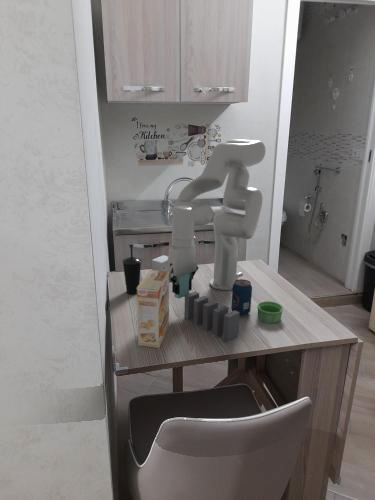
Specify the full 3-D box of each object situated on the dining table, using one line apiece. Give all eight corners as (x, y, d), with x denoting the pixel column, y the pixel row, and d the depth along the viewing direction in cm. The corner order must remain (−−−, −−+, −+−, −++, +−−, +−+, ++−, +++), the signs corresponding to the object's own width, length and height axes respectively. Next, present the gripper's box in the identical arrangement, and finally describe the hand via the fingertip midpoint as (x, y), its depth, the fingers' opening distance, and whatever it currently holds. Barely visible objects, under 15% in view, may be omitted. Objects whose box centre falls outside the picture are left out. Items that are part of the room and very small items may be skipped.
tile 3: (203, 318, 130) (204, 295, 127) (207, 321, 129) (208, 297, 126) (193, 323, 127) (193, 299, 124) (197, 325, 126) (197, 301, 123)
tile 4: (213, 324, 127) (214, 300, 124) (217, 326, 126) (218, 302, 123) (202, 328, 124) (203, 304, 121) (206, 331, 122) (207, 306, 120)
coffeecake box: (159, 348, 113) (159, 289, 106) (137, 346, 114) (135, 287, 108) (170, 324, 127) (170, 270, 120) (149, 322, 128) (148, 269, 122)
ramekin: (268, 326, 126) (269, 315, 125) (251, 315, 133) (252, 304, 132) (287, 320, 131) (288, 308, 129) (269, 309, 138) (270, 299, 136)
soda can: (227, 310, 137) (229, 280, 133) (244, 307, 139) (246, 277, 136) (236, 318, 131) (238, 287, 127) (253, 315, 133) (256, 284, 129)
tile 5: (222, 329, 124) (224, 305, 121) (227, 331, 122) (228, 307, 120) (212, 334, 121) (213, 309, 118) (216, 337, 119) (217, 311, 116)
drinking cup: (137, 297, 146) (135, 249, 140) (120, 294, 148) (117, 246, 142) (145, 289, 153) (144, 243, 147) (128, 286, 155) (127, 241, 149)
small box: (163, 276, 166) (163, 254, 163) (173, 279, 163) (173, 257, 160) (151, 282, 160) (151, 259, 157) (161, 285, 157) (161, 262, 153)
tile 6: (233, 334, 121) (234, 310, 118) (237, 337, 119) (239, 312, 116) (222, 340, 117) (224, 315, 115) (227, 343, 116) (228, 317, 113)
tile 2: (194, 314, 134) (195, 291, 131) (198, 316, 132) (199, 293, 129) (184, 318, 130) (184, 295, 128) (188, 320, 129) (188, 297, 126)
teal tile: (185, 293, 135) (185, 270, 132) (189, 295, 133) (189, 271, 130) (174, 296, 131) (175, 273, 129) (178, 298, 130) (178, 274, 127)
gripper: (193, 235, 134) (192, 282, 140) (156, 244, 124) (156, 294, 129) (208, 240, 129) (206, 288, 135) (170, 249, 118) (170, 301, 124)
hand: (181, 290), depth 132 cm, fingers closed on teal tile, 4 cm apart
